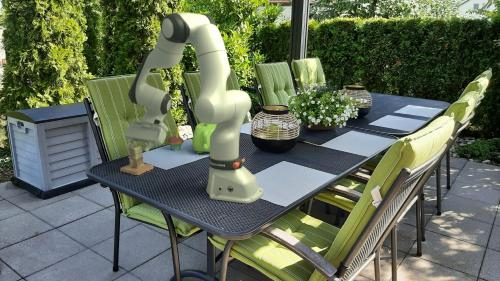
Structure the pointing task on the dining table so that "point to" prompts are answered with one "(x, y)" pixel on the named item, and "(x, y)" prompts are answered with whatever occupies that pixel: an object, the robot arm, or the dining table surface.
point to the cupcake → (175, 142)
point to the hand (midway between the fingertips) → (137, 149)
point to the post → (136, 156)
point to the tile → (137, 169)
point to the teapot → (202, 137)
